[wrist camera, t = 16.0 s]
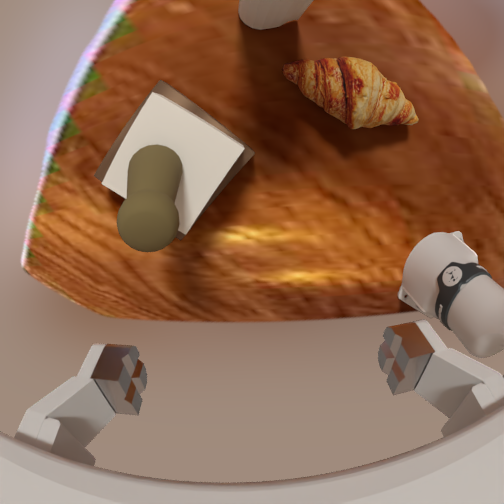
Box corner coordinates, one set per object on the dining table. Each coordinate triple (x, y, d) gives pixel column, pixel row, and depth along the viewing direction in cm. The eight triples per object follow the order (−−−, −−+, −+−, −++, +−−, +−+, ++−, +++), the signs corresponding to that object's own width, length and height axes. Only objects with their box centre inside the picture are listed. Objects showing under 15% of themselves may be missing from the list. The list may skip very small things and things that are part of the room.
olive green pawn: (158, 203, 32) (154, 273, 24) (117, 174, 28) (95, 239, 20) (194, 167, 30) (201, 230, 22) (152, 133, 26) (138, 186, 18)
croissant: (400, 104, 38) (429, 80, 30) (408, 156, 37) (443, 136, 29) (277, 62, 34) (293, 24, 26) (272, 115, 33) (291, 77, 25)
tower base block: (252, 148, 38) (255, 153, 34) (185, 227, 42) (180, 240, 38) (168, 84, 33) (160, 79, 28) (107, 168, 37) (93, 175, 33)
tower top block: (243, 145, 33) (244, 148, 29) (190, 222, 37) (185, 234, 33) (160, 94, 29) (152, 91, 26) (113, 176, 33) (101, 183, 30)
